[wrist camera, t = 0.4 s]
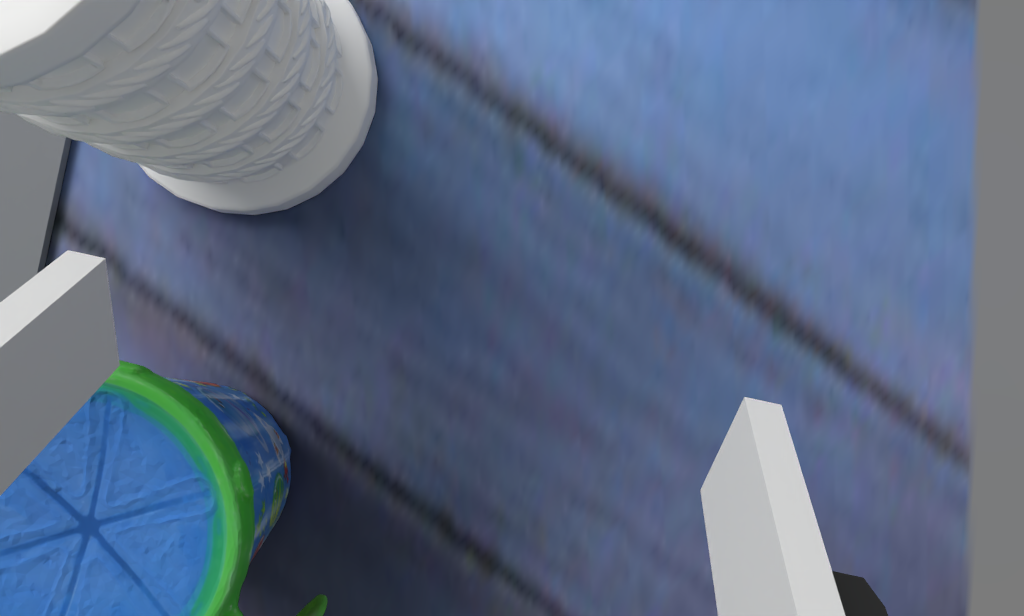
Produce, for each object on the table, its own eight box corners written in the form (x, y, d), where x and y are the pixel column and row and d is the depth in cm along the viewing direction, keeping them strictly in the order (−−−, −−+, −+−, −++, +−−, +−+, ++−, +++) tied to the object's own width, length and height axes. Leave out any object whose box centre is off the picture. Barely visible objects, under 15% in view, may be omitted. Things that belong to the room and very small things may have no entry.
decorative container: (98, 185, 34) (-415, 33, 16) (154, -65, 34) (-293, -507, 16) (346, 240, 33) (114, 147, 15) (403, -15, 33) (239, -409, 15)
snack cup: (417, 527, 33) (361, 621, 23) (237, 679, 33) (101, 841, 23) (193, 257, 33) (40, 231, 23) (17, 409, 34) (-211, 449, 23)
